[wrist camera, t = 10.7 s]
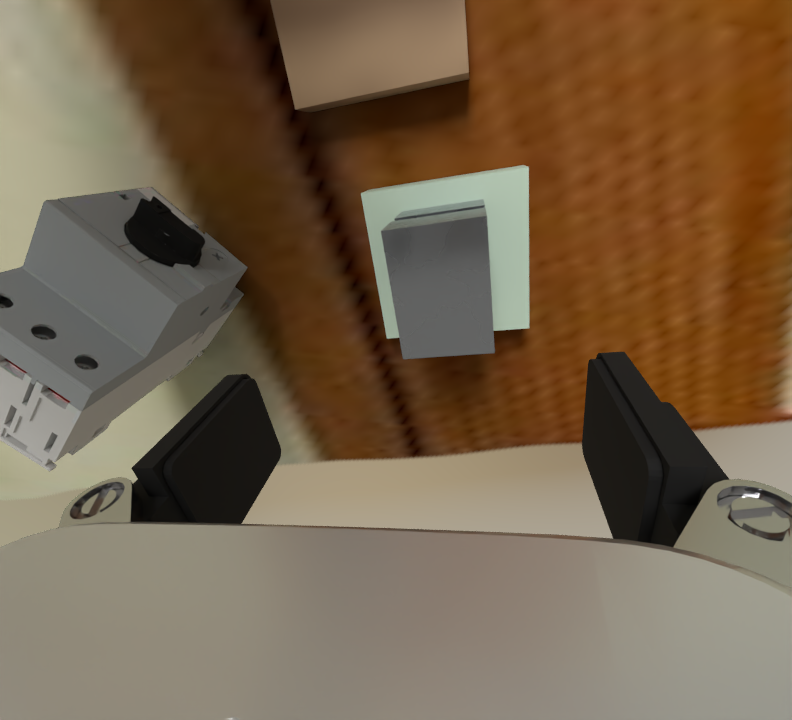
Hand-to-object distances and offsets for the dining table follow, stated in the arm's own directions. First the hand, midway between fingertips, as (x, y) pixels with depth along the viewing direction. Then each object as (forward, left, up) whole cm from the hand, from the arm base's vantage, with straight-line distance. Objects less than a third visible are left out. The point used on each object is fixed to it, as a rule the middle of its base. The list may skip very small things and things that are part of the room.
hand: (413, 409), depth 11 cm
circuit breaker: (-1, -20, -20) cm, 28 cm away
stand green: (0, 0, -19) cm, 19 cm away
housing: (0, 0, -17) cm, 17 cm away
